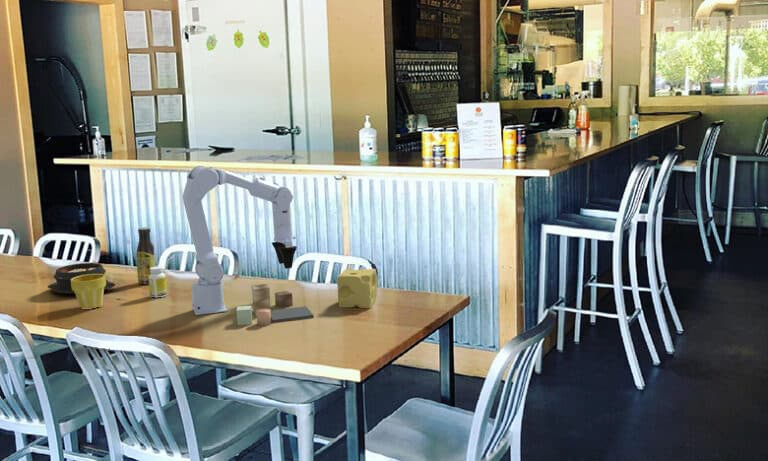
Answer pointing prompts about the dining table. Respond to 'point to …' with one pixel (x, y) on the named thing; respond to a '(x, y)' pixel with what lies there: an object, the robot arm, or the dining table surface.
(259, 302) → the oak block
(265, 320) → the brown block
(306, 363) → the dining table surface
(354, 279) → the cheese
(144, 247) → the sauce bottle
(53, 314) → the dining table surface
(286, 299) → the walnut block
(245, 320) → the sage block
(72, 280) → the plant pot
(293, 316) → the bar mat
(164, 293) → the supplement bottle
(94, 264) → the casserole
